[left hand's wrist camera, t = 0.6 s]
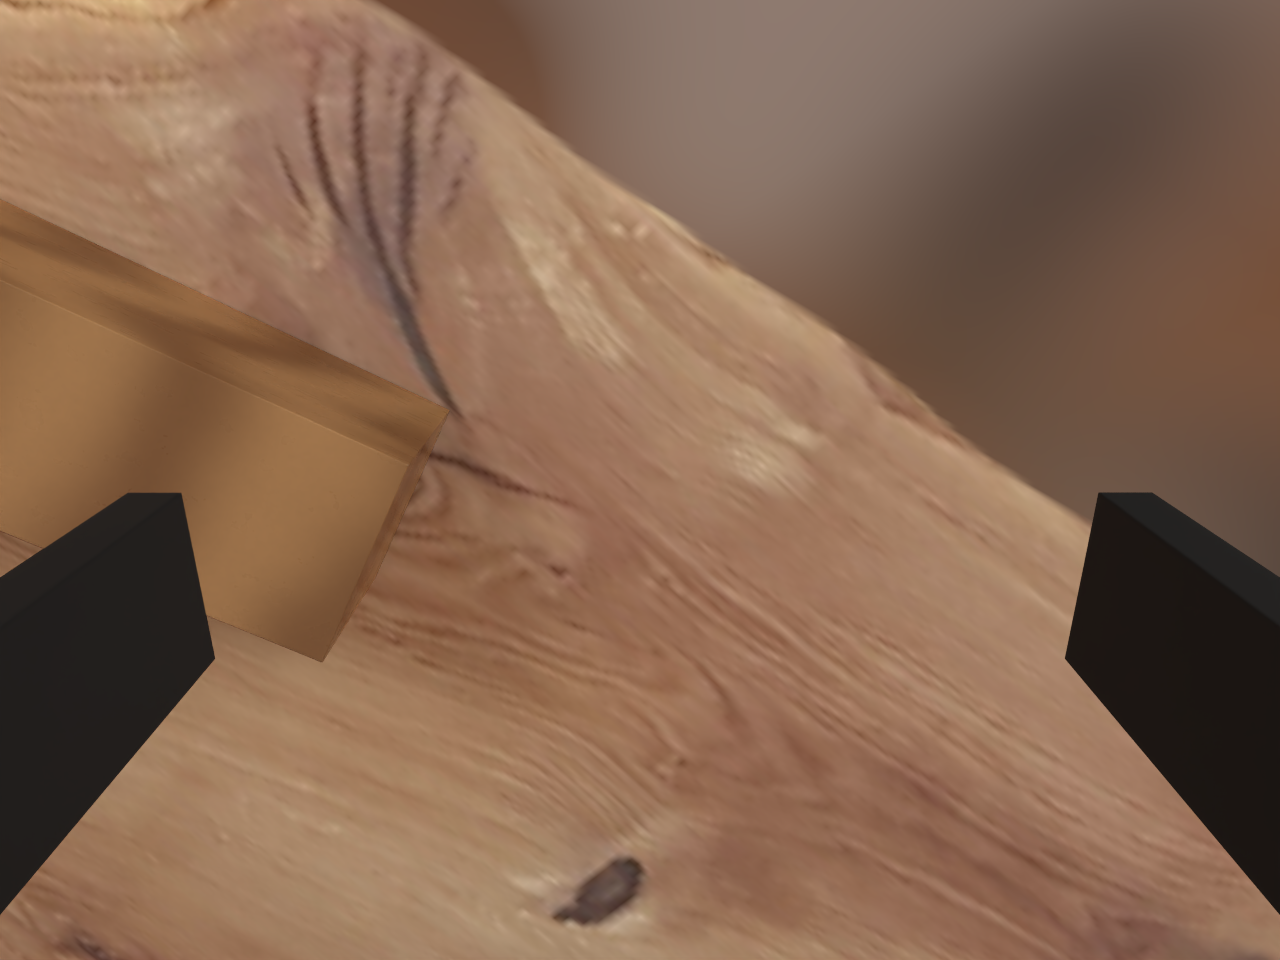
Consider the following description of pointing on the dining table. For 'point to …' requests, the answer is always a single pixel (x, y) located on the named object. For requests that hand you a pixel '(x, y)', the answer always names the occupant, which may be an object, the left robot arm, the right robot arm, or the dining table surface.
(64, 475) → the long beam
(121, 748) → the left robot arm
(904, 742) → the dining table surface
